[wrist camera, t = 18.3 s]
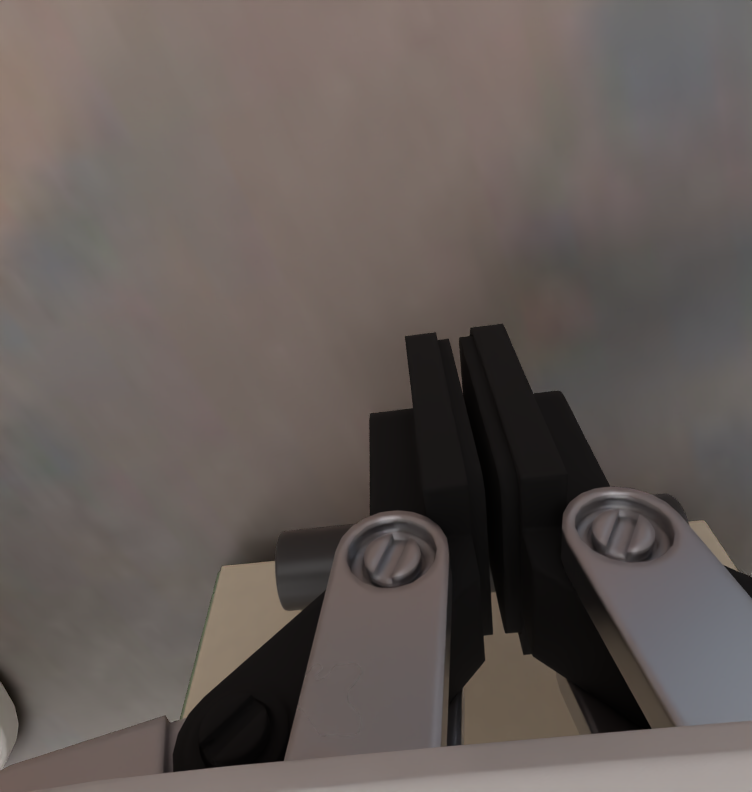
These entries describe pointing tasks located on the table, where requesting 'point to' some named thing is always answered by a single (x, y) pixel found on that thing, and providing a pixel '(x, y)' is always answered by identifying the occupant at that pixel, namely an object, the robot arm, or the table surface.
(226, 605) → the drawer
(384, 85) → the table surface
